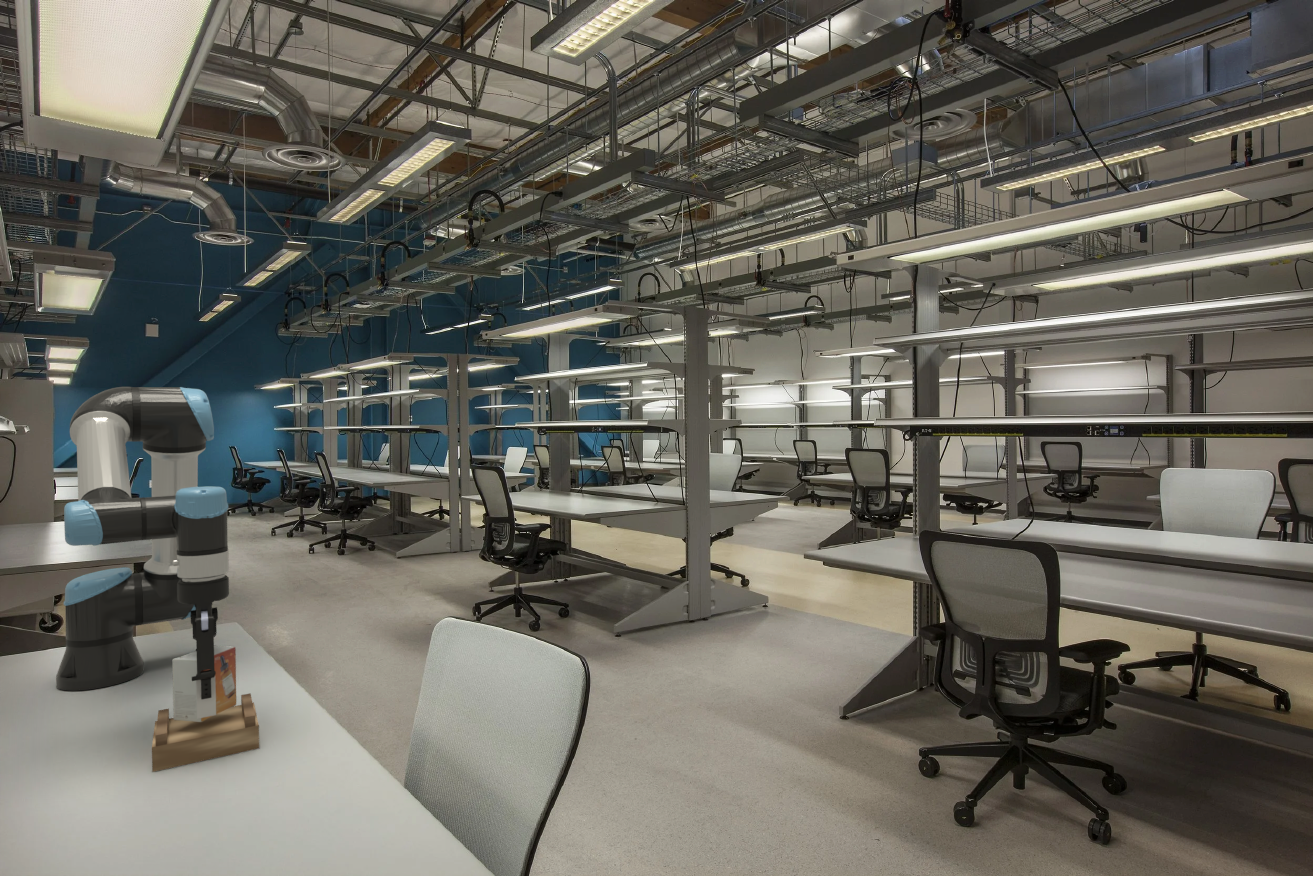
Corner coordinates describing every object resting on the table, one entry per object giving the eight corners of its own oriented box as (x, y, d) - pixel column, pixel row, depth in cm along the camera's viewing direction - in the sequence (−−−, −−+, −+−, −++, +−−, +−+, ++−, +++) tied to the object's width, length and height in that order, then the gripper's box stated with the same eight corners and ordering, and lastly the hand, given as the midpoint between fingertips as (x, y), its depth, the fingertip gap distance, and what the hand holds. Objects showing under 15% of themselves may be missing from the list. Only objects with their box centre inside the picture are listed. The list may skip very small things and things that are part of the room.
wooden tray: (155, 744, 125) (154, 711, 125) (254, 723, 133) (253, 692, 133) (152, 772, 115) (151, 736, 115) (259, 748, 123) (258, 714, 123)
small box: (200, 723, 119) (199, 660, 119) (172, 721, 120) (170, 658, 120) (237, 704, 127) (236, 645, 127) (211, 702, 128) (209, 644, 128)
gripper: (178, 568, 130) (181, 690, 131) (175, 592, 112) (178, 734, 112) (226, 563, 134) (228, 682, 135) (231, 586, 116) (234, 723, 116)
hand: (206, 706), depth 124 cm, fingers closed on small box, 9 cm apart
